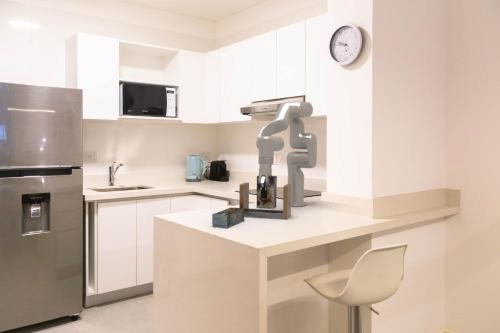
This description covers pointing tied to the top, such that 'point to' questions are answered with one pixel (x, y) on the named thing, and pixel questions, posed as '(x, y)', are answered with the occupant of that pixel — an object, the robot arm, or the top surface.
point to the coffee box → (271, 194)
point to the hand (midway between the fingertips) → (265, 196)
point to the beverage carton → (228, 217)
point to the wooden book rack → (264, 212)
